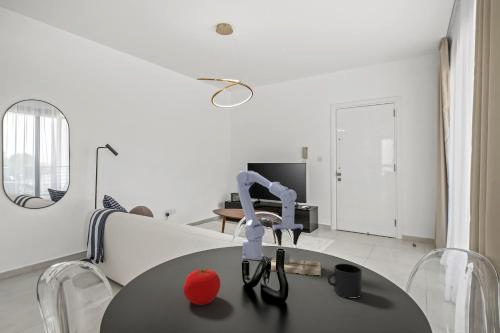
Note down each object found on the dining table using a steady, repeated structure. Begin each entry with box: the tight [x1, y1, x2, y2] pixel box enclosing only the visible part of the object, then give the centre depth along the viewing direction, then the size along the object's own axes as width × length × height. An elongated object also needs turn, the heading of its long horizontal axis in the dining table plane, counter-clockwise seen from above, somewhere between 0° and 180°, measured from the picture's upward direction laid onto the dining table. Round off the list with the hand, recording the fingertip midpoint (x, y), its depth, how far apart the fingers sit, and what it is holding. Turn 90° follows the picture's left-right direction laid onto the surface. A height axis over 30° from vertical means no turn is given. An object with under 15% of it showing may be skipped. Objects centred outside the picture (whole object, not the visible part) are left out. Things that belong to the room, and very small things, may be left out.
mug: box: [327, 263, 363, 297], centre depth 96 cm, size 9×12×9 cm
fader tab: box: [284, 251, 291, 264], centre depth 119 cm, size 3×4×4 cm
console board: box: [270, 257, 322, 277], centre depth 118 cm, size 22×10×2 cm, turn 76°
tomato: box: [183, 268, 221, 306], centre depth 88 cm, size 11×12×10 cm
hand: (287, 244), depth 123 cm, fingers open, 7 cm apart
